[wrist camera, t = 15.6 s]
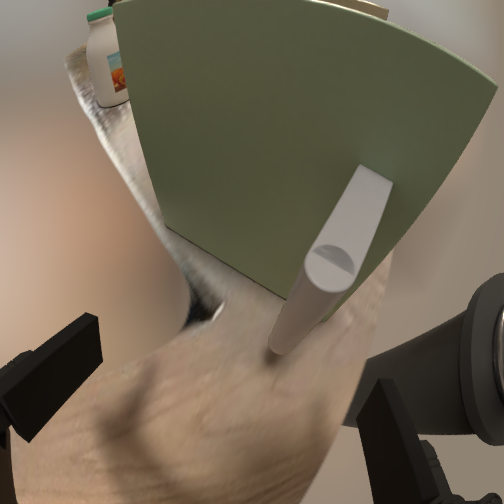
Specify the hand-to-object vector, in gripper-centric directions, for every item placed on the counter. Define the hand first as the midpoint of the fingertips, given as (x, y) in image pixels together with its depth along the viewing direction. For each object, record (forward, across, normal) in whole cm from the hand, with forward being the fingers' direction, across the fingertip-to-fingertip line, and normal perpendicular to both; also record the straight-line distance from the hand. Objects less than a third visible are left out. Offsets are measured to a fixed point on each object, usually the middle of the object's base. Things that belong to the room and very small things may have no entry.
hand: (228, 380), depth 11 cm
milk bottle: (+36, -34, +21) cm, 54 cm away
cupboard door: (+13, -3, -2) cm, 13 cm away
